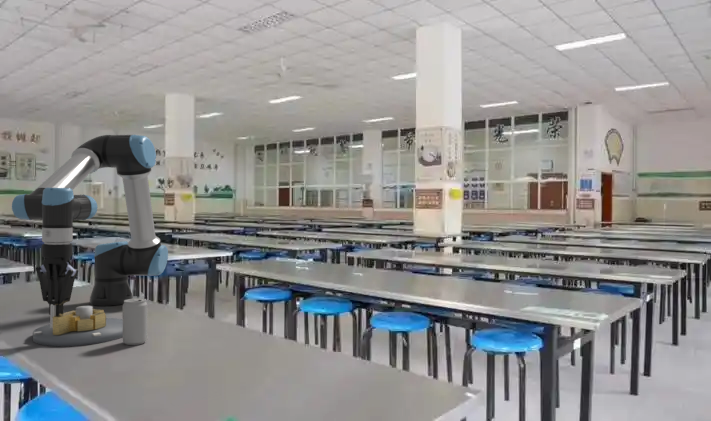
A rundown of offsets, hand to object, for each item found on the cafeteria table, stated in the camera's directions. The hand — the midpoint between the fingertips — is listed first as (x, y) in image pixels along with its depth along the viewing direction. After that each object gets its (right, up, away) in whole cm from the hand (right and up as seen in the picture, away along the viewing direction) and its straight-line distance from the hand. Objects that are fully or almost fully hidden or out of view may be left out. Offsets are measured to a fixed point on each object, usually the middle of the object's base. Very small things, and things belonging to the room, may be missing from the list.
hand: (56, 327), depth 151 cm
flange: (+4, -4, +8) cm, 10 cm away
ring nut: (+3, -2, +6) cm, 7 cm away
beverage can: (+22, -4, -1) cm, 23 cm away
